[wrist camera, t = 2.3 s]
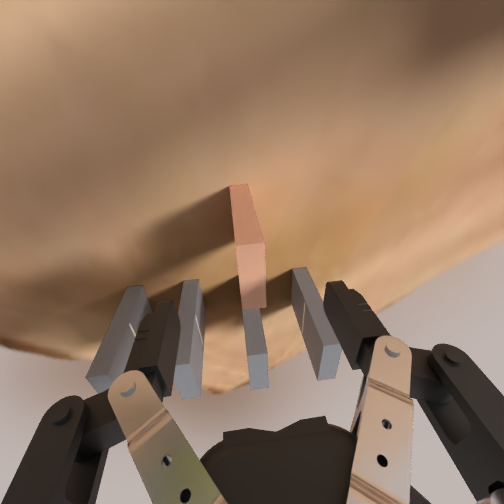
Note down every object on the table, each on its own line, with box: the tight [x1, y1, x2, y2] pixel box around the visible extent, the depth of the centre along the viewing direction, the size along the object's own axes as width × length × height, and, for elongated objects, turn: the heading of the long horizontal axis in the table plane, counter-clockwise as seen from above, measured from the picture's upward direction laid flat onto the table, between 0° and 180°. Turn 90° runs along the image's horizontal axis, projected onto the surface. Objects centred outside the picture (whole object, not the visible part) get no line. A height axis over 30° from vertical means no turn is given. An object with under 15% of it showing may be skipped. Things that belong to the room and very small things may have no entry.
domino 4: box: [242, 308, 269, 390], centre depth 24 cm, size 2×5×10 cm, turn 3°
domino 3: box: [229, 184, 267, 310], centre depth 19 cm, size 2×5×10 cm, turn 3°
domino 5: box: [291, 267, 342, 380], centre depth 25 cm, size 2×5×10 cm, turn 3°
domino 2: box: [174, 279, 206, 400], centre depth 24 cm, size 2×5×10 cm, turn 3°
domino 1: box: [85, 285, 153, 394], centre depth 24 cm, size 2×5×10 cm, turn 3°
